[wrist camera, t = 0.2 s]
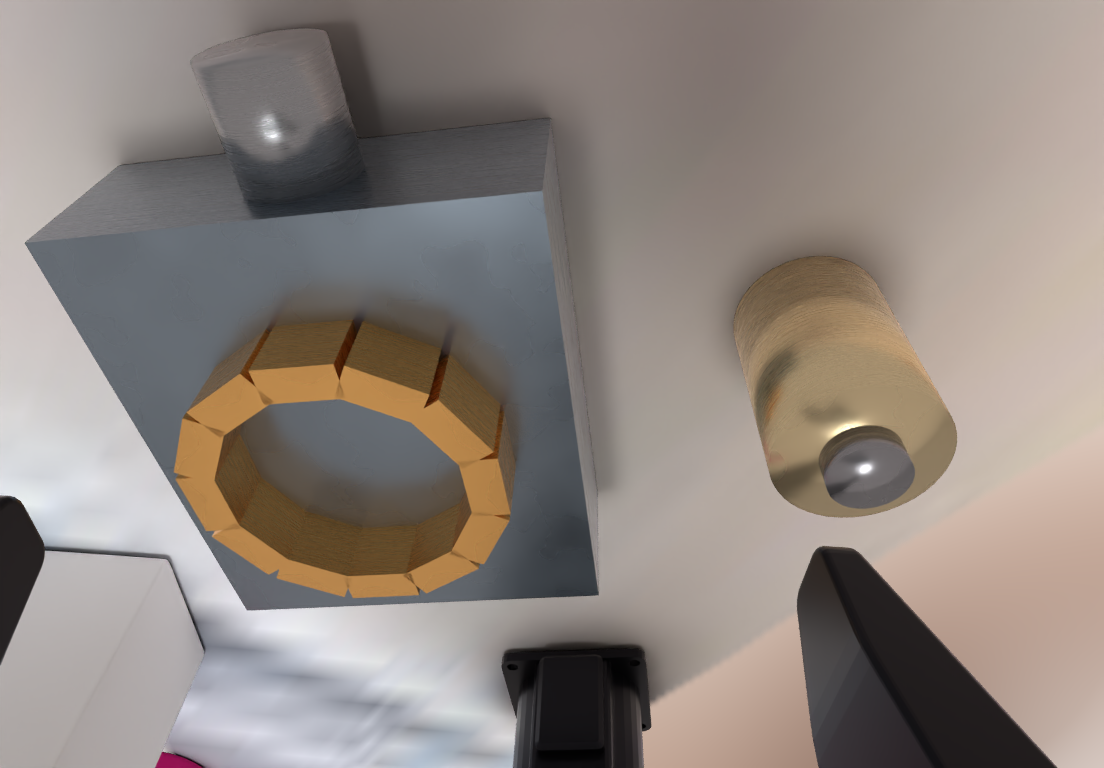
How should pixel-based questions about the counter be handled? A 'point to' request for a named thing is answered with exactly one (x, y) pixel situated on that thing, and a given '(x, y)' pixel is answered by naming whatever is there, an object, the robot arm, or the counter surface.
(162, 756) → the pepper mill
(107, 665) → the milk carton
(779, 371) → the beige cylinder
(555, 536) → the gearbox
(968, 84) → the counter surface
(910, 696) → the robot arm
